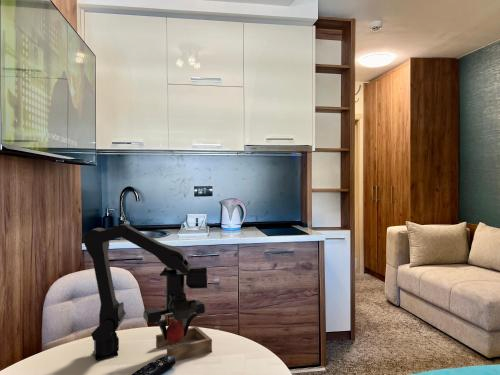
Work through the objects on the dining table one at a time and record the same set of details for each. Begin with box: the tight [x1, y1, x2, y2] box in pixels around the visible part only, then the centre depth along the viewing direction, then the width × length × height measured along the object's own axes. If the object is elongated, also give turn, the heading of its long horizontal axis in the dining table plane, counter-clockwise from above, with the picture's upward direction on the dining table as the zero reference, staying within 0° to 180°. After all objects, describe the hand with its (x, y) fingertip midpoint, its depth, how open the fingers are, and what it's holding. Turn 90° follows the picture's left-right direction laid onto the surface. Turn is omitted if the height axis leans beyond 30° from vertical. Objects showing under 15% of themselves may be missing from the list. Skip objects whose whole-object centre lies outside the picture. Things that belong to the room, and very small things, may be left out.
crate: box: [155, 325, 213, 362], centre depth 115 cm, size 14×12×4 cm
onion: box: [166, 318, 184, 345], centre depth 113 cm, size 6×6×8 cm
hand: (175, 337), depth 113 cm, fingers closed on onion, 6 cm apart
